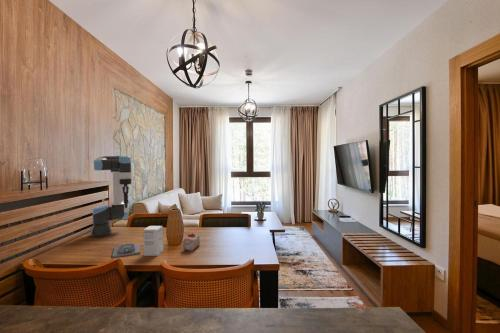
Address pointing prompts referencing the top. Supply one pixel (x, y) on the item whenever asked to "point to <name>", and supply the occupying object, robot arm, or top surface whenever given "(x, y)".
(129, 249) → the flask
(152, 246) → the supplement box
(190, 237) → the food item
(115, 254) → the slate board
